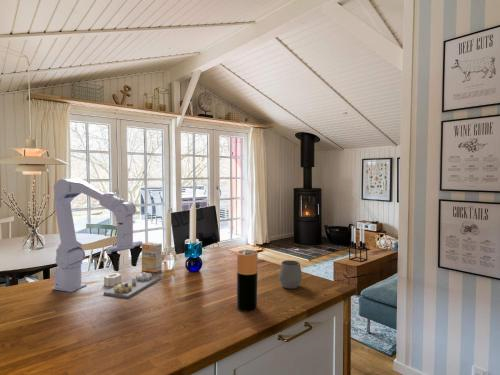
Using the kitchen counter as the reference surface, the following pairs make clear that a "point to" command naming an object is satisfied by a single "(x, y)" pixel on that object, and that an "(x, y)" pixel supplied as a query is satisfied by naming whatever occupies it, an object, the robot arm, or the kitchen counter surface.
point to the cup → (290, 274)
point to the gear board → (132, 285)
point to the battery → (247, 279)
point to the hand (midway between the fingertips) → (125, 268)
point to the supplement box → (151, 257)
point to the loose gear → (112, 279)
